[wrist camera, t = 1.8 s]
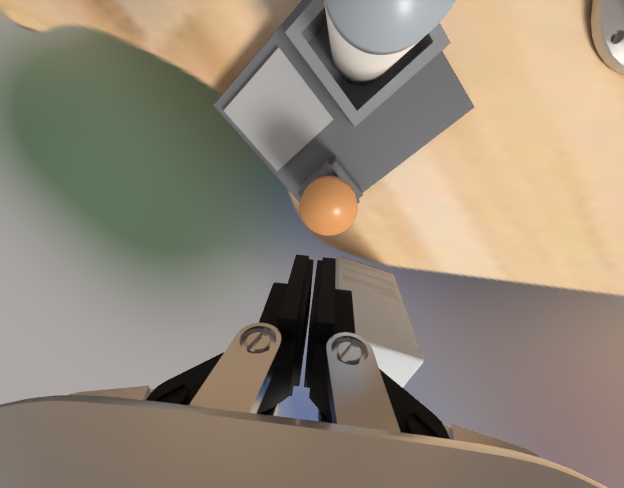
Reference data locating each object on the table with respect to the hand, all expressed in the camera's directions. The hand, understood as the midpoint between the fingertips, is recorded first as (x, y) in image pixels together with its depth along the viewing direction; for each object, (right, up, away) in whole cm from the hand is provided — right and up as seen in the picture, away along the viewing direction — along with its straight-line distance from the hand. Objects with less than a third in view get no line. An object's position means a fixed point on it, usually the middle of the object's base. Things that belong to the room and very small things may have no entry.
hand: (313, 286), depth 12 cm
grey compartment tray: (+2, +15, +13) cm, 20 cm away
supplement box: (+5, -4, +22) cm, 23 cm away
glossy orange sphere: (+2, +6, +13) cm, 15 cm away
